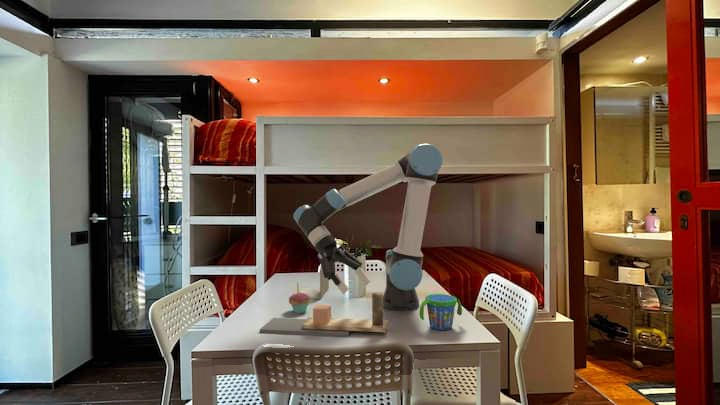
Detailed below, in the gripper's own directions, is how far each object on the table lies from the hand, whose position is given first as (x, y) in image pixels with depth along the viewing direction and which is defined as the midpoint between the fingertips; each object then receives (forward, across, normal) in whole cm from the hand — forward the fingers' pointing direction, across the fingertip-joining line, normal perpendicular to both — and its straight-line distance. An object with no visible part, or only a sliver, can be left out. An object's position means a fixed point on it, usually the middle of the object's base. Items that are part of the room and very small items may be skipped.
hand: (357, 287), depth 128 cm
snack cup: (+27, -15, +7) cm, 32 cm away
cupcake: (-11, -3, -31) cm, 33 cm away
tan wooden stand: (+7, +4, -10) cm, 13 cm away
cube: (+1, +8, -15) cm, 17 cm away
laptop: (-20, -26, -40) cm, 52 cm away
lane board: (0, +10, -20) cm, 22 cm away
